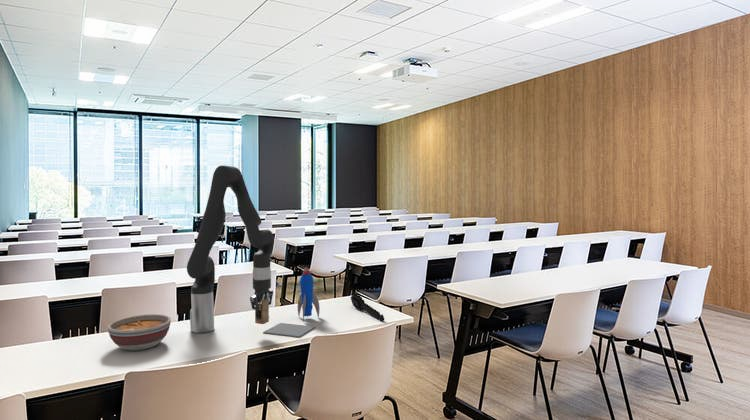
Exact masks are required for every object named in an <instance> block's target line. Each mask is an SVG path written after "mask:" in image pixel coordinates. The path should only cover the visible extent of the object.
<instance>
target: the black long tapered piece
mask: <svg viewBox="0 0 750 420" xmlns="http://www.w3.org/2000/svg"><path fill="white" fill-rule="evenodd" d="M350 299H351V303H352V306H353V307H354V308H355V309H357V310H359V311H365V312H366V313H367V314H369V315H371V316H372V317H373V318H375V319H376V320H379V321H380V322H384V321H385V317H384V314H381V313H380V311H378V310H377V309H375V308H373V306H371V305H369V304H368V303H367V302H365V299H363V297H362V296H361V295H359V294H358V293H356V292H353V293H352V295H351V296H350Z"/></svg>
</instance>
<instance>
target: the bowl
mask: <svg viewBox="0 0 750 420" xmlns="http://www.w3.org/2000/svg"><path fill="white" fill-rule="evenodd" d="M171 322H172V321H171V317H170V316H169V315H164V314H155V313H154V314H153V313H150V314H139V315H132V316H128V317H124V318H120V319H116V320H115V321H112V322H110V323H109V324H108V325H107V332H108V334H109V337H110V339H111V340H112V342H113V343H114V344H115V345H116V346H117V347H119V348H121V349H123V350H126V351H133V352H134V351H143V350H147V349H150V348H153V347H155V346H157V345H159V344H160V343H161V342H162V341H163V339H165V337H166V336H167V335H168V332H169V330H170V327H171Z"/></svg>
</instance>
